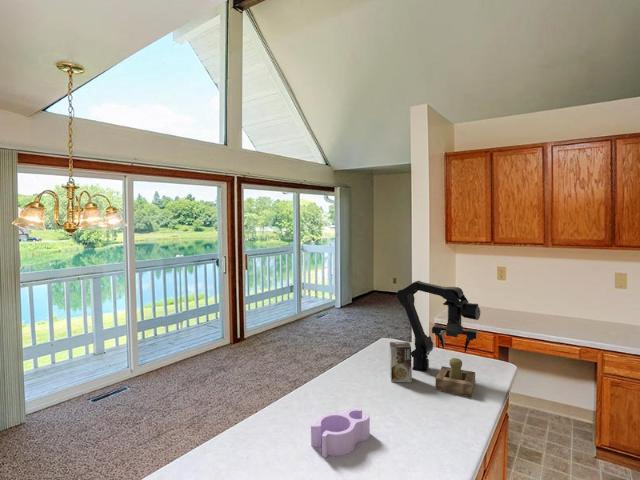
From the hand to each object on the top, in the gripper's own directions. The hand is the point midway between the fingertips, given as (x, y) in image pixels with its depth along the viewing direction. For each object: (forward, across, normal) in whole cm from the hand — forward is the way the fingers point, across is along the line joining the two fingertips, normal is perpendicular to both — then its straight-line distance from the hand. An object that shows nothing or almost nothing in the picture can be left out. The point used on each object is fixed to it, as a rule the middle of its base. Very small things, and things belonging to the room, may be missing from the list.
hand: (454, 350), depth 166 cm
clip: (+13, -25, -65) cm, 71 cm away
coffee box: (+13, -21, -12) cm, 28 cm away
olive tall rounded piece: (+12, +2, -8) cm, 15 cm away
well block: (+13, +2, -8) cm, 15 cm away
